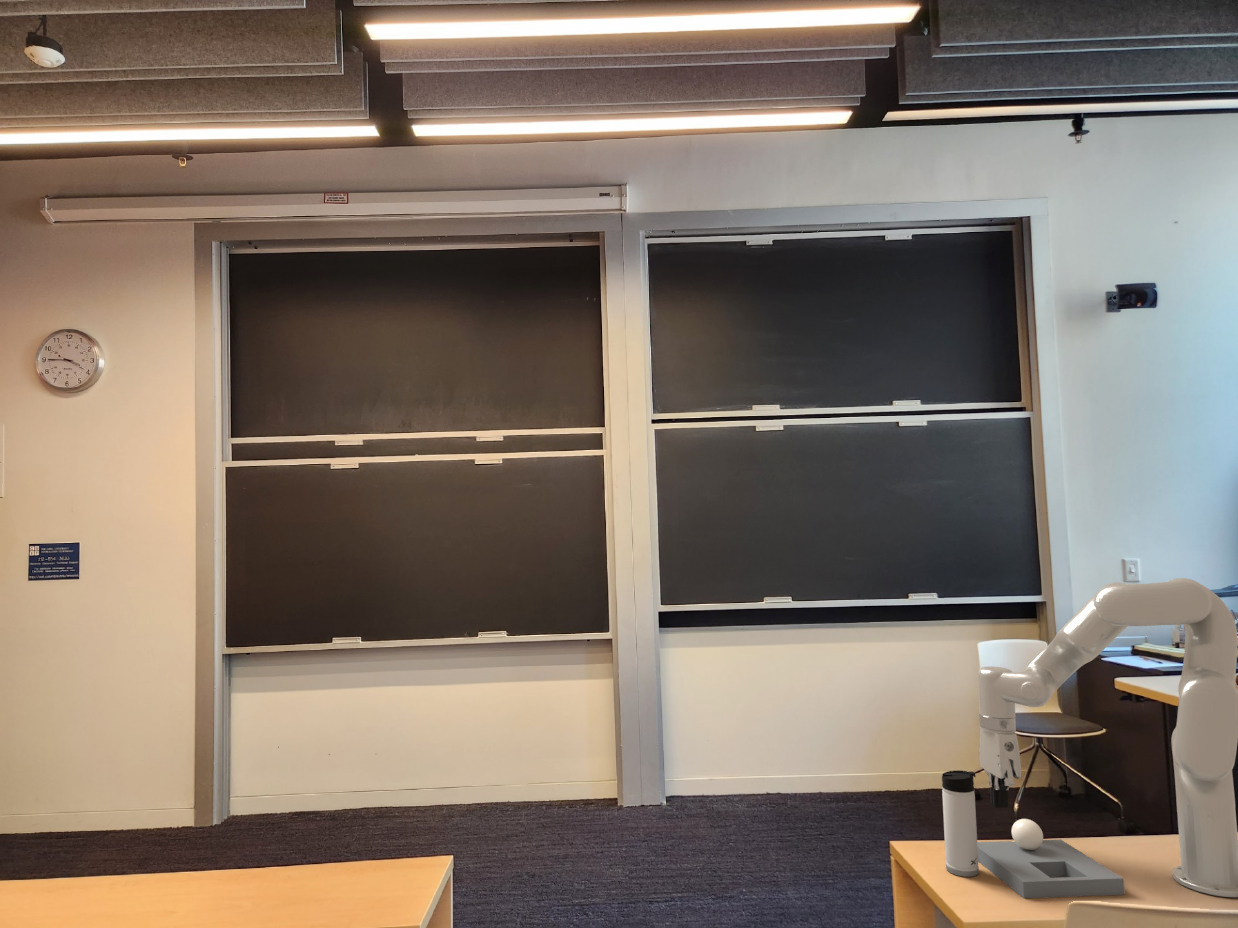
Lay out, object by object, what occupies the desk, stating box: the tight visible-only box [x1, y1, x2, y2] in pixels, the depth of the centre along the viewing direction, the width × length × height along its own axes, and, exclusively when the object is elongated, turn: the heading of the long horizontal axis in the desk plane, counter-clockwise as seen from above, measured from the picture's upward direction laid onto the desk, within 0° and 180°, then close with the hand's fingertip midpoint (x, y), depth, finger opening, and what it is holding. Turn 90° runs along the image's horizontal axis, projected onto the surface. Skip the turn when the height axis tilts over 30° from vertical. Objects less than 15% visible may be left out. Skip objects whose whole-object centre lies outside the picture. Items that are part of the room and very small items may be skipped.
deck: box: [977, 838, 1125, 899], centre depth 163 cm, size 20×20×3 cm
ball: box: [1011, 818, 1044, 850], centre depth 169 cm, size 6×6×6 cm
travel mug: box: [941, 769, 980, 878], centre depth 166 cm, size 6×7×20 cm
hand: (999, 805), depth 179 cm, fingers closed
